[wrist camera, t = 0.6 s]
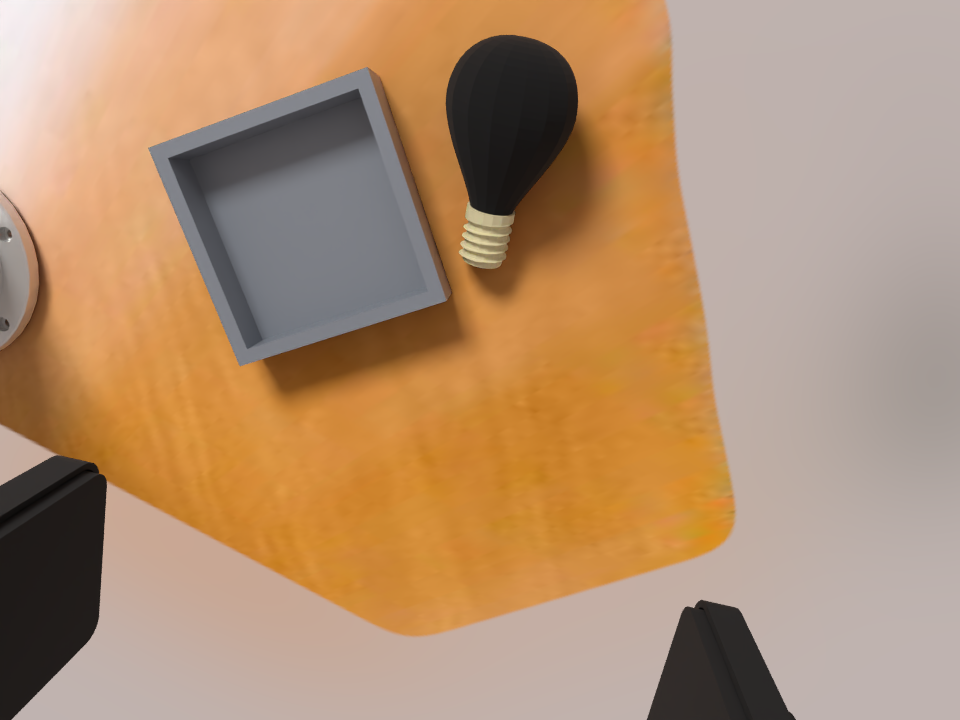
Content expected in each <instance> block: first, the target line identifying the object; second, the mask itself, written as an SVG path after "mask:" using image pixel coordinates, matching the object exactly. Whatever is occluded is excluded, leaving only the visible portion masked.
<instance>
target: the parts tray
mask: <svg viewBox="0 0 960 720" xmlns="http://www.w3.org/2000/svg"><path fill="white" fill-rule="evenodd" d="M148 149H149V151H150V154H151V156H152V158H153V161H154V163H155V165H156V168H157V170H158V173H159V175H160V177H161V180H162V182H163V185H164V187H165V189H166V192H167V194H168V196H169V199H170V201H171V204H172V206H173V208H174V211H175V213H176V215H177V218H178V220H179V223H180V225H181V227H182V230H183V232H184V234H185V237H186V239H187V242H188V244H189V246H190V249H191V251H192V254H193V256H194V258H195V261H196V263H197V265H198V268H199V270H200V273H201V275H202V277H203V280H204V282H205V284H206V287H207V289H208V292H209V294H210V296H211V299H212V301H213V303H214V306H215V308H216V311H217V313H218V315H219V318H220V320H221V323H222V325H223V327H224V330H225V332H226V334H227V337H228V339H229V342H230V344H231V346H232V349H233V351H234V353H235V356H236V358H237V361H238V363H239V365H240V366H242V365H245V364H248V363H252V362H255V361H258V360H261V359H264V358H267V357H271V356H274V355H277V354H280V353H283V352H286V351H290V350H293V349H296V348H299V347H302V346H306V345H309V344H312V343H315V342H318V341H321V340H325V339H328V338H331V337H334V336H337V335H340V334H344V333H347V332H350V331H353V330H356V329H359V328H363V327H366V326H369V325H372V324H375V323H379V322H382V321H385V320H388V319H391V318H394V317H398V316H401V315H404V314H407V313H410V312H413V311H417V310H420V309H423V308H426V307H429V306H432V305H436V304H439V303H442V302H445V301H447V300H448V298H449V297H450V295H451V293H452V291H451V288H450V285H449V282H448V279H447V276H446V273H445V270H444V267H443V264H442V261H441V258H440V255H439V252H438V249H437V246H436V243H435V240H434V238H433V235H432V232H431V229H430V226H429V223H428V220H427V217H426V214H425V211H424V208H423V205H422V202H421V199H420V196H419V193H418V190H417V187H416V184H415V181H414V178H413V175H412V172H411V169H410V166H409V163H408V160H407V157H406V154H405V151H404V148H403V145H402V142H401V139H400V136H399V133H398V130H397V127H396V124H395V121H394V119H393V116H392V113H391V110H390V107H389V104H388V101H387V98H386V95H385V92H384V89H383V86H382V83H381V80H380V77H379V76H378V75H377V74H376V73H374V72H373V71H372V70H370V69H369V68H368V67H366V68H363V69H361V70H358V71H355V72H353V73H350V74H347V75H344V76H342V77H339V78H336V79H334V80H331V81H328V82H326V83H323V84H320V85H317V86H315V87H312V88H309V89H307V90H304V91H301V92H299V93H296V94H293V95H290V96H288V97H285V98H282V99H280V100H277V101H274V102H271V103H269V104H266V105H263V106H261V107H258V108H255V109H253V110H250V111H247V112H244V113H242V114H239V115H236V116H234V117H231V118H228V119H226V120H223V121H220V122H217V123H215V124H212V125H209V126H207V127H204V128H201V129H198V130H196V131H193V132H190V133H188V134H185V135H182V136H180V137H177V138H174V139H171V140H169V141H166V142H163V143H161V144H158V145H155V146H153V147H150V148H148Z"/></svg>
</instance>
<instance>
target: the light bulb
mask: <svg viewBox="0 0 960 720" xmlns="http://www.w3.org/2000/svg"><path fill="white" fill-rule="evenodd" d="M577 108H578V92H577V84H576V80H575V76H574V73H573V71H572V69H571V67H570V65H569V64H568V62H567V61H566V60H565V58H564V57H563V56H562V55H561V54H560V53H559V52H558V51H556V50H555V49H553V48H552V47H550V46H549V45H547V44H545V43H542V42H540V41H538V40H535V39H531V38H527V37H522V36H516V35H499V36H494V37H490V38H487V39H485V40H482V41H480V42H478V43H477V44H475V45H473V46H472V47H471V48H470V49H468V50H467V51H466V52H465V53H464V55H463V56H462V57H461V58H460V59H459V61H458V63H457V64H456V66H455V68H454V70H453V72H452V74H451V77H450V80H449V83H448V87H447V93H446V112H447V119H448V126H449V130H450V134H451V139H452V142H453V146H454V149H455V153H456V156H457V159H458V162H459V165H460V168H461V171H462V174H463V178H464V181H465V184H466V187H467V191H468V195H469V200H470V202H468V204H467V209H466V214H465V218H466V219H467V220H468V222H469V223H468V224H464V226H463V227H464V228H465V229H466V230H467V232H464V233H463V234H462V236H463V237H464V238H465V240H464V241H461V243H460V244H461V245H462V247H463V248H464V249H462V250H460V251H459V254H460V255H462V256H463V260H464V261H465V262H466V263H468V264H470V265H472V266H475V267H478V268H483V269H494V268H498V267H500V266H501V264H502V261H503V260H505V259H506V256H507V255H506V254H505V251H507V250H508V245H507V244H506V243H508V242H509V241H510V237H509V234H511V232H512V229H511V227H510V225H512V224H513V223H514V216H515V211H514V210H515V208H516V206H517V205H518V204H519V202H520V201H521V200H522V199H523V197H524V196H525V195H526V194H527V192H528V191H529V190H530V189H531V188H532V187H533V185H534V184H535V183H536V182H537V181H538V180H539V178H540V177H541V176H542V175H543V174H544V172H545V171H546V170H547V169H548V167H549V166H550V165H551V164H552V162H553V161H554V160H555V158H556V157H557V155H558V154H559V153H560V151H561V150H562V148H563V147H564V145H565V143H566V142H567V140H568V138H569V136H570V134H571V132H572V130H573V127H574V124H575V121H576V116H577Z"/></svg>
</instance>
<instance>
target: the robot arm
mask: <svg viewBox="0 0 960 720" xmlns="http://www.w3.org/2000/svg"><path fill="white" fill-rule="evenodd" d="M38 288H39V273H38V262H37V258H36V253H35V249H34V245H33V242H32V240H31V237H30V235H29V233H28V230H27V228H26V226H25V224H24V222H23V220H22V219H21V217H20V216H19V214H18V213H17V211H16V209H15V208H14V206H13V205H12V204H11V203H10V202H9V200H8V199H7V198H6V197H5V196H4V195H3V194H2V192H1V191H0V351H1V350H2V349H4V348H6V347H7V346H9V345H10V344H11V343H12V342H13V341H14V340H15V339H16V338H17V337H18V336H19V335H20V334H21V333H22V332H23V330H24V328H25V327H26V325H27V324H28V322H29V321H30V319H31V316H32V313H33V311H34V308H35V305H36V302H37V295H38ZM106 489H107V481H106V478H105V476H104V475H102V474H99V470H98V467H97V466H96V465H95V464H94V463H91V462H86V461H82V460H77V459H73V458H68V457H64V456H54V457H51V458H49V459H48V460H46V461H44V462H42V463H40V464H39V465H37V466H35V467H33V468H31V469H30V470H28V471H26V472H24V473H22V474H21V475H19V476H17V477H15V478H14V479H12V480H10V481H8V482H6V483H5V484H3V485H1V486H0V720H11V719H12V718H13V717H14V716H15V715H16V714H17V713H18V712H19V711H20V710H21V709H22V708H23V707H24V706H25V705H26V704H27V703H28V702H29V701H30V700H31V699H32V698H33V697H34V696H35V695H36V694H37V693H38V692H39V691H40V690H41V689H42V688H43V687H44V686H45V685H46V684H47V683H48V682H49V681H50V680H51V679H52V678H53V676H55V675H56V674H57V673H58V672H59V671H60V670H61V669H62V668H63V667H64V666H65V665H66V663H68V662H69V661H70V659H71V658H72V657H73V656H74V655H75V654H76V653H77V652H78V651H79V650H80V649H81V648H82V647H83V646H84V645H85V644H86V643H87V642H88V641H89V640H90V638H91V636H92V635H93V633H94V631H95V629H96V626H97V623H98V619H99V606H100V589H101V573H102V555H103V540H104V523H105V506H106ZM647 720H796V719H795V718H794V716H793V715H792V714H791V713H790V712H788V710H787V708H786V705H785V703H784V702H783V699H782V697H781V695H780V693H779V691H778V689H777V687H776V685H775V682H774V680H773V678H772V676H771V674H770V672H769V670H768V668H767V666H766V664H765V662H764V659H763V657H762V655H761V653H760V651H759V649H758V647H757V645H756V643H755V641H754V638H753V636H752V634H751V632H750V630H749V628H748V626H747V624H746V622H745V620H744V618H743V616H742V613H741V612H740V611H739V609H738V608H735V607H731V606H726V605H721V604H717V603H712V602H708V601H703V600H700V601H699V602H698V603H697V604H696V605H695V608H692V607H685V608H684V610H683V612H682V614H681V617H680V620H679V623H678V626H677V629H676V632H675V635H674V638H673V641H672V644H671V648H670V650H669V654H668V657H667V660H666V663H665V666H664V669H663V672H662V675H661V678H660V682H659V684H658V688H657V690H656V693H655V696H654V700H653V703H652V706H651V709H650V712H649V715H648V718H647Z"/></svg>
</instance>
